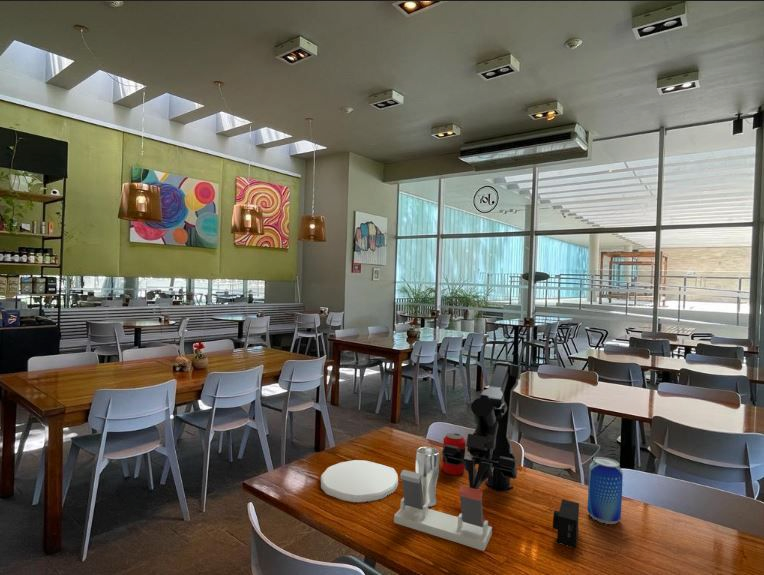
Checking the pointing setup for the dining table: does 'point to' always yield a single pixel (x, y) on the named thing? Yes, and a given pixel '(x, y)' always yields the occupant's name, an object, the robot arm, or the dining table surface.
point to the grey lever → (412, 489)
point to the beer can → (605, 490)
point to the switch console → (444, 526)
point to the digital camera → (566, 522)
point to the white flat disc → (359, 481)
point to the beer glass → (428, 472)
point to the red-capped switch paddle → (471, 505)
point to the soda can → (460, 442)
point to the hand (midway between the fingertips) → (471, 493)
